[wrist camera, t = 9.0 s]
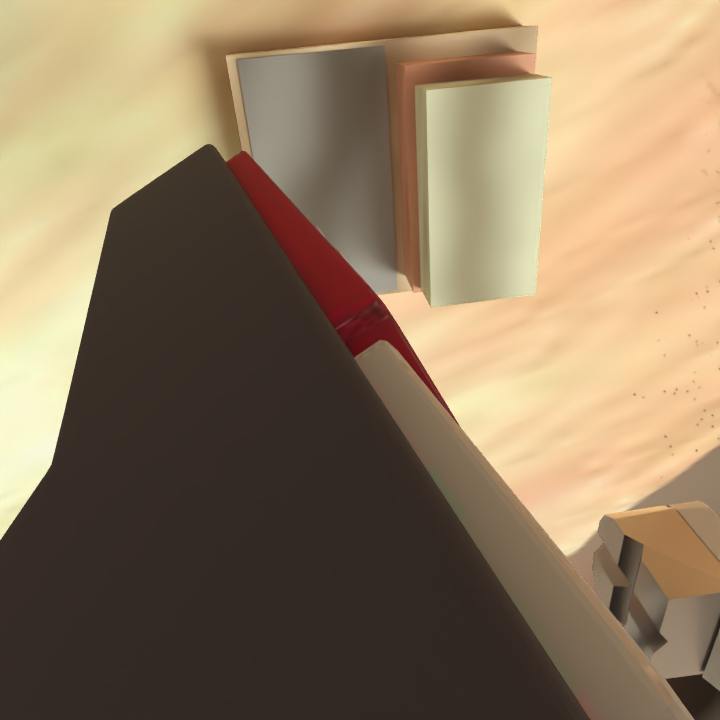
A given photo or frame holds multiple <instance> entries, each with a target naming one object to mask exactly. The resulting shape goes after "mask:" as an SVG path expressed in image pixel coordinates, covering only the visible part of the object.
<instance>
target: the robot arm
mask: <svg viewBox="0 0 720 720" xmlns="http://www.w3.org/2000/svg"><path fill="white" fill-rule="evenodd" d="M598 534H599V536H600V537H601V539H602V541H603V542H604V543H603V544H602V545H601V546H600V547H599V548H598V549H597V550H596V551H595V552H594V557H593V565H592V570H593V575H594V582H595V586H596V589H597V591H598V594H599V597H600V599H601V601H602V602H603V603H604V604H605V605H606V607H607V608H608V609H609V610H610V612H611V613H612V614H613V615H614V617H615V618H616V619H617V620H619V621H620V622H622V623H623V624H624V625H625V628H624V629H625V630H626V631H627V632H628V634H629V635H630V636H631V637H632V639H633V640H634V641H635V642H636V644H637V645H638V646H639V647H640V648H641V650H642V651H643V652H644V653H645V655H646V656H647V657H648V658H649V659H650V661H651V662H652V663H653V664H654V666H655V667H656V668H657V669H658V670H659V672H660V673H661V675H662V676H663V677H664V679H667V678H674V677H682V676H689V675H697V674H703V676H702V677H703V678H704V679H706V680H707V681H708V682H709V683H711V684H712V685H713V686H714V687H716V688H717V689H718V690H719V691H720V518H719V517H718V516H717V515H716V514H715V513H714V512H713V510H712V509H711V508H710V507H709V506H708V505H706V504H705V503H703V502H701V501H693V502H686V503H680V504H673V505H667V506H657V507H651V508H644V509H639V510H632V511H626V512H619V513H613V514H607V515H604V516H603V518H602V519H601V520H600V523H599V528H598Z"/></svg>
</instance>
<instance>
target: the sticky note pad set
mask: <svg viewBox="0 0 720 720" xmlns="http://www.w3.org/2000/svg"><path fill="white" fill-rule="evenodd" d="M537 35H538V26H517V27H507V28H496V29H486V30H475V31H465V32H454V33H444V34H434V35H423V36H413V37H402V38H392V39H382V40H371V41H361V42H350V43H340V44H329V45H319V46H309V47H298V48H288V49H277V50H267V51H257V52H246V53H236V54H228V55H226V62H227V67H228V73H229V79H230V85H231V90H232V96H233V102H234V107H235V113H236V119H237V125H238V130H239V136H240V142H241V147H242V151H246V152H247V153H248V154H249V155H250V156H251V157H252V158H253V159H254V161H255V162H256V163H257V164H258V165H259V166H260V167H261V168H262V169H263V170H264V171H265V173H266V174H267V175H268V176H269V177H270V178H271V179H272V180H273V181H274V182H275V183H276V185H277V186H278V187H279V188H280V189H281V190H282V191H283V192H284V193H285V194H286V195H287V197H288V198H289V199H290V200H291V201H292V202H293V203H294V204H295V205H296V206H297V207H298V209H299V210H300V211H301V212H302V213H303V214H304V215H305V216H306V217H307V218H308V219H309V221H310V222H311V223H312V224H313V225H314V226H315V227H316V226H317V227H318V228H319V229H320V230H321V232H322V233H323V235H324V236H325V238H326V239H327V240H328V241H329V242H330V243H331V245H332V246H333V247H334V248H338V249H339V250H340V252H341V253H342V255H343V256H344V258H345V259H346V261H347V262H348V263H349V264H350V265H351V266H352V267H353V269H354V270H355V271H356V272H357V273H358V274H359V275H360V276H361V277H362V278H363V279H364V281H365V282H366V283H367V284H368V285H369V286H370V287H371V288H372V290H373V291H374V292H375V293H376V294H377V295H382V294H390V293H398V292H406V291H413V292H414V293H415V292H423V294H424V295H425V297H426V299H427V301H428V303H429V305H430V307H431V308H432V307H440V306H448V305H456V304H464V303H473V302H481V301H489V300H497V299H505V298H513V297H521V296H529V295H535V293H536V280H537V267H538V254H539V241H540V228H541V215H542V202H543V189H544V176H545V163H546V150H547V137H548V124H549V111H550V98H551V85H552V77H547V76H541V75H536V74H535V66H536V51H537Z"/></svg>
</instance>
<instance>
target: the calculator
mask: <svg viewBox="0 0 720 720" xmlns="http://www.w3.org/2000/svg"><path fill="white" fill-rule="evenodd" d="M0 720H694V719H693V717H692V716H691V715H690V713H689V712H688V710H687V709H686V708H685V706H684V705H683V704H682V702H681V701H680V699H679V698H678V697H677V695H676V694H675V693H674V691H673V690H672V688H671V687H670V686H669V684H668V683H667V681H666V680H665V679H664V677H663V676H662V675H661V673H660V672H659V670H658V669H657V668H656V667H655V666H654V664H653V663H652V662H651V661H650V659H649V658H648V657H647V656H646V655H645V653H644V652H643V651H642V650H641V648H640V647H639V646H638V645H637V644H636V642H635V641H634V640H633V639H632V637H631V636H630V635H629V634H628V632H627V631H626V630H625V629H624V628H623V626H622V625H621V624H620V623H619V622H618V620H617V619H616V618H615V617H614V615H613V614H612V613H611V612H610V610H609V609H608V608H607V607H606V605H605V604H604V603H603V602H602V601H601V599H600V598H599V597H598V596H597V595H596V593H595V592H594V591H593V590H592V588H591V587H590V586H589V585H588V584H587V582H586V581H585V580H584V579H583V577H582V576H581V575H580V574H579V572H578V571H577V570H576V569H575V567H573V565H572V564H571V563H570V561H569V560H568V559H567V558H566V556H565V555H564V554H563V553H562V552H561V550H560V549H559V548H558V547H557V545H556V544H555V543H554V542H553V541H552V539H551V538H550V537H549V536H548V534H547V533H546V532H545V531H544V529H543V528H542V527H541V526H540V525H539V523H538V522H537V521H536V520H535V518H534V517H533V516H532V515H531V514H530V512H529V511H528V510H527V509H526V507H525V506H524V505H523V504H522V502H521V501H520V500H519V499H518V498H517V496H516V495H515V494H514V493H513V491H512V490H511V489H510V488H509V487H508V485H507V484H506V483H505V482H504V480H503V479H502V478H501V477H500V476H499V474H498V473H497V472H496V471H495V469H494V468H493V467H492V466H491V464H490V463H489V462H488V461H487V460H486V458H485V457H484V456H483V455H482V453H481V452H480V451H479V450H478V449H477V447H476V446H475V445H474V444H473V442H472V441H471V440H470V439H469V437H468V436H467V435H466V434H465V433H464V431H463V430H462V429H461V427H460V426H459V424H458V422H457V421H456V419H455V417H454V416H453V414H452V412H451V411H450V409H449V408H448V406H447V404H446V403H445V401H444V399H443V398H442V396H441V394H440V393H439V391H438V389H437V388H436V386H435V385H434V383H433V381H432V380H431V378H430V376H429V375H428V373H427V371H426V370H425V368H424V367H423V365H422V363H421V362H420V360H419V358H418V357H417V355H416V353H415V352H414V350H413V348H412V347H411V345H410V344H409V342H408V340H407V339H406V337H405V335H404V334H403V332H402V330H401V329H400V327H399V326H398V324H397V322H396V321H395V319H394V318H393V316H392V315H391V313H390V312H389V310H388V309H387V307H386V306H385V304H384V303H383V302H382V300H381V299H380V298H379V297H378V296H377V294H376V293H375V292H374V291H373V290H372V288H371V287H370V286H369V285H368V284H367V283H366V282H365V281H364V279H363V278H362V277H361V276H360V275H359V274H358V273H357V272H356V271H355V270H354V269H353V267H352V266H351V265H350V264H349V263H348V262H347V261H346V259H345V258H344V256H343V255H342V253H341V252H340V250H339V249H338V248H334V247H333V246H332V245H331V243H330V242H329V241H328V240H327V239H326V238H325V236H324V235H323V233H322V232H321V230H320V229H319V228H318V227H317V226H316V227H315V226H314V225H313V224H312V223H311V222H310V221H309V219H308V218H307V217H306V216H305V215H304V214H303V213H302V212H301V211H300V210H299V209H298V207H297V206H296V205H295V204H294V203H293V202H292V201H291V200H290V199H289V198H288V197H287V195H286V194H285V193H284V192H283V191H282V190H281V189H280V188H279V187H278V186H277V185H276V183H275V182H274V181H273V180H272V179H271V178H270V177H269V176H268V175H267V174H266V173H265V171H264V170H263V169H262V168H261V167H260V166H259V165H258V164H257V163H256V162H255V161H254V159H253V158H252V157H251V156H250V155H249V154H248V153H247V152H246V151H242V152H240V153H239V154H237V155H236V156H235V157H233V158H232V159H230V160H229V161H227V162H225V161H224V159H223V158H222V156H221V155H220V153H219V152H218V151H217V149H216V148H215V147H214V146H213V145H211V144H207V145H205V146H203V147H202V148H200V149H199V150H197V151H196V152H194V153H193V154H191V155H190V156H188V157H187V158H186V159H184V160H183V161H181V162H180V163H178V164H177V165H175V166H174V167H172V168H171V169H169V170H168V171H167V172H165V173H164V174H162V175H161V176H159V177H158V178H156V179H155V180H153V181H152V182H150V183H149V184H148V185H146V186H145V187H143V188H142V189H140V190H139V191H137V192H136V193H134V194H133V195H132V196H130V197H129V198H127V199H126V200H124V201H123V202H122V203H120V204H119V205H117V206H116V207H115V208H113V209H112V211H111V214H110V218H109V222H108V226H107V231H106V235H105V239H104V244H103V248H102V252H101V257H100V261H99V265H98V270H97V274H96V278H95V283H94V287H93V291H92V295H91V300H90V304H89V308H88V313H87V317H86V321H85V326H84V330H83V334H82V339H81V343H80V347H79V351H78V356H77V360H76V364H75V369H74V373H73V377H72V382H71V386H70V390H69V395H68V399H67V403H66V408H65V412H64V416H63V420H62V424H61V428H60V432H59V436H58V441H57V445H56V449H55V453H54V457H53V461H52V465H51V467H50V468H49V470H48V471H47V473H46V474H45V476H44V477H43V479H42V480H41V482H40V483H39V485H38V486H37V488H36V489H35V491H34V492H33V493H32V495H31V496H30V498H29V499H28V501H27V502H26V504H25V505H24V507H23V508H22V509H21V511H20V512H19V514H18V515H17V517H16V518H15V520H14V521H13V523H12V524H11V525H10V527H9V528H8V530H7V531H6V533H5V534H4V536H3V537H2V539H1V540H0Z"/></svg>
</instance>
